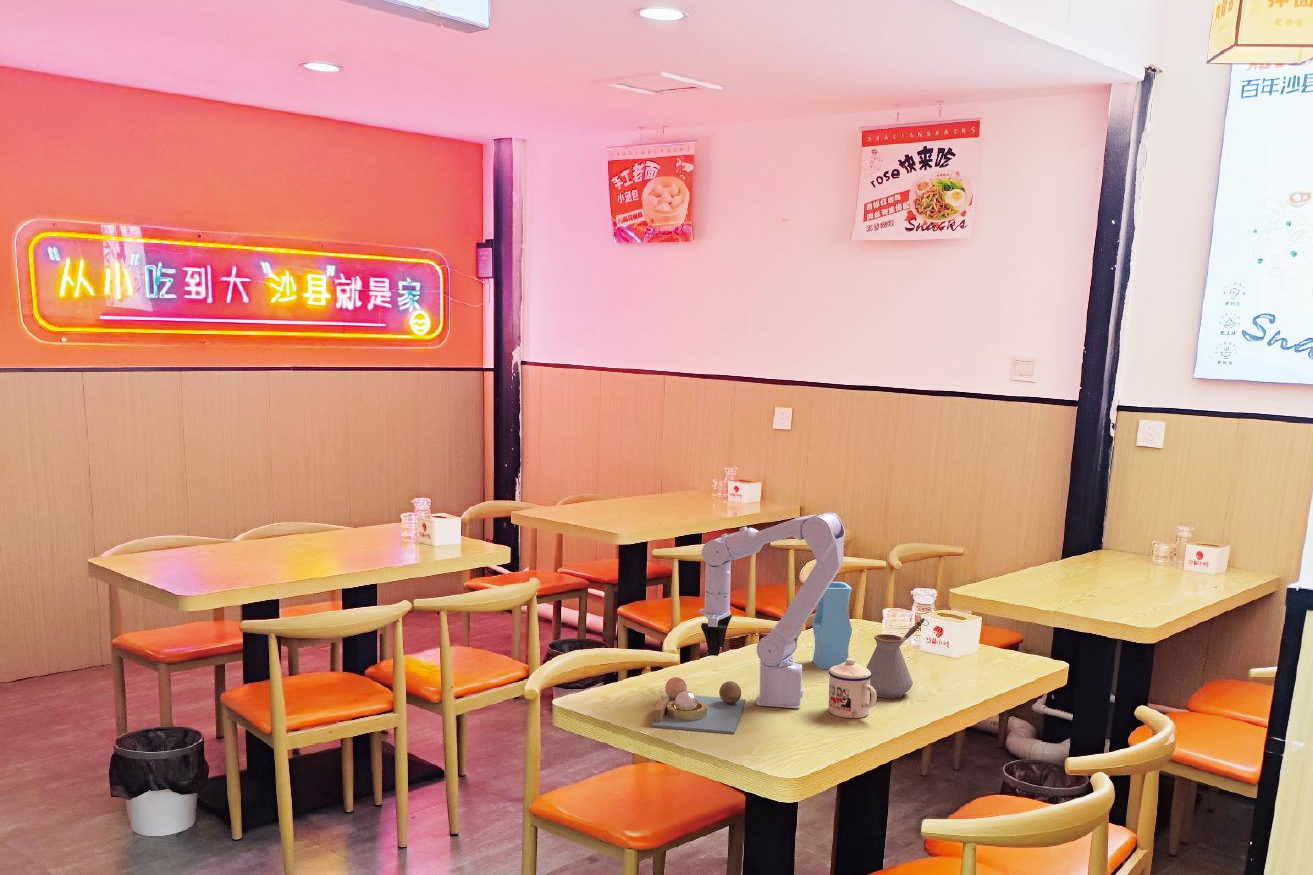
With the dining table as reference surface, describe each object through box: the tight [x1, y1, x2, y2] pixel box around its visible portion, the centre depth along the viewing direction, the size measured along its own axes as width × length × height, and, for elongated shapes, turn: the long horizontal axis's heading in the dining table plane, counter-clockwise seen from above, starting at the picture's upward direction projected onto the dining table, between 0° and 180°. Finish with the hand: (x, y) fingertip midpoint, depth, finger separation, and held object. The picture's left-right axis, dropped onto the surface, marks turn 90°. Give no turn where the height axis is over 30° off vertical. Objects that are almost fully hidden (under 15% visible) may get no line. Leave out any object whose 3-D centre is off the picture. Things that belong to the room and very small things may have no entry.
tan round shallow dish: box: [666, 700, 707, 721], centre depth 226 cm, size 8×8×2 cm
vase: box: [811, 581, 853, 670], centre depth 266 cm, size 8×8×20 cm
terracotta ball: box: [664, 676, 688, 699], centre depth 236 cm, size 5×5×5 cm
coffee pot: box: [865, 617, 930, 699], centre depth 248 cm, size 21×12×15 cm, turn 135°
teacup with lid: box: [828, 657, 878, 719], centre depth 229 cm, size 12×9×12 cm
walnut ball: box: [718, 680, 742, 704], centre depth 234 cm, size 5×5×5 cm
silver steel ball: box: [675, 690, 698, 711], centre depth 225 cm, size 5×5×5 cm
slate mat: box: [650, 695, 746, 735], centre depth 228 cm, size 17×21×3 cm
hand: (716, 650), depth 243 cm, fingers open, 7 cm apart
